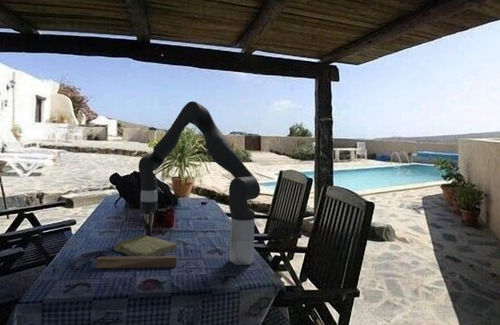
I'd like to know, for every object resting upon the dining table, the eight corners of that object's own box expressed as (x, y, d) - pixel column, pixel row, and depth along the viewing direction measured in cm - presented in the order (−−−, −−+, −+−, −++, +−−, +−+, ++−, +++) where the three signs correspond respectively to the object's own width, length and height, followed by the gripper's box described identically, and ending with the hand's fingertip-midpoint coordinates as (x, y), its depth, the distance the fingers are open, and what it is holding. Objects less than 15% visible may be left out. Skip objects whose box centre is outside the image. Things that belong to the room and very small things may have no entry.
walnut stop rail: (176, 266, 138) (176, 257, 138) (97, 268, 134) (96, 259, 134) (176, 264, 141) (176, 255, 140) (98, 266, 136) (98, 257, 136)
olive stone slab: (144, 241, 170) (145, 233, 169) (177, 250, 159) (177, 242, 159) (110, 251, 154) (110, 243, 154) (143, 262, 143) (143, 253, 143)
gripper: (156, 202, 164) (155, 240, 166) (158, 197, 177) (158, 232, 179) (138, 202, 163) (138, 241, 165) (142, 196, 176) (142, 232, 178)
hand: (148, 236), depth 172 cm, fingers closed
